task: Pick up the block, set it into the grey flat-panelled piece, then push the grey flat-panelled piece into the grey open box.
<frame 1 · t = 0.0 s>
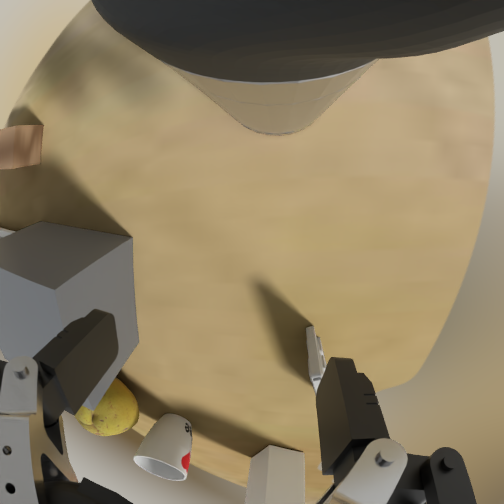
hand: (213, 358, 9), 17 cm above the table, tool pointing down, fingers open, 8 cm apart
fruit: (116, 382, 36), on the table
block: (31, 145, 24), on the table
cassette: (319, 362, 30), on the table
milk carton: (277, 454, 39), on the table
grey open box: (84, 281, 29), on the table
cup: (176, 421, 37), on the table
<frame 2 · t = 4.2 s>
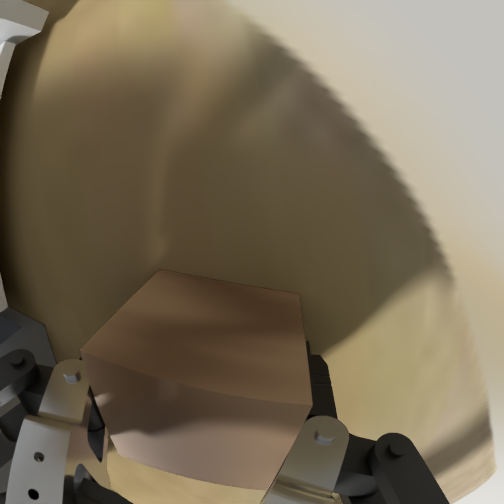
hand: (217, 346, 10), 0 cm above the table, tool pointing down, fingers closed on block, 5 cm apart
block: (220, 339, 10), on the table, touching gripper
grey open box: (16, 373, 14), on the table
when the fingers open (3 cm above the table, at t = 10.4 s): block stays where it is, resting on grey flat-panelled piece.
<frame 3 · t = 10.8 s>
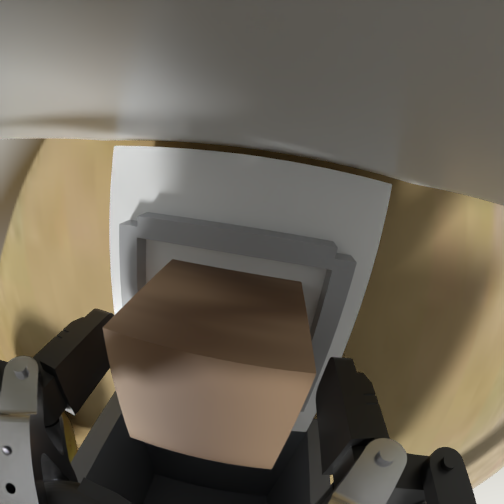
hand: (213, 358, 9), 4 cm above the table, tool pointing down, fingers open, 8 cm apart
fruit: (53, 402, 20), on the table
block: (227, 325, 11), point 2 cm above the table, touching grey flat-panelled piece
grey open box: (214, 456, 18), on the table
grey flat-panelled piece: (198, 387, 7), point 7 cm above the table, slide at 15.0 cm, touching block
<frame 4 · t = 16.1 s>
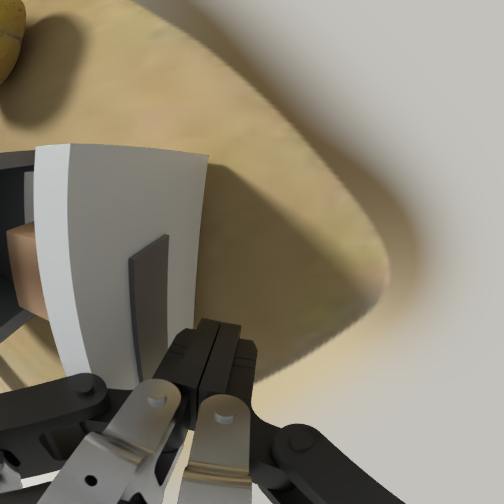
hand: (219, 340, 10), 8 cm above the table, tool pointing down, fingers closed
fruit: (15, 57, 13), on the table
block: (82, 252, 16), point 2 cm above the table, touching grey flat-panelled piece
grey open box: (3, 222, 19), on the table
grey flat-panelled piece: (48, 276, 12), point 6 cm above the table, slide at 13.4 cm, touching block, gripper
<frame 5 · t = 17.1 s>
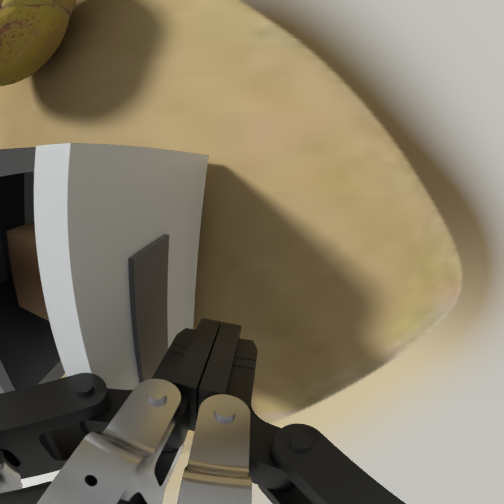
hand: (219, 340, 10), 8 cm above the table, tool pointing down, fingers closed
fruit: (55, 39, 13), on the table
block: (82, 252, 16), point 2 cm above the table, touching grey flat-panelled piece
grey open box: (41, 230, 18), on the table
grey flat-panelled piece: (48, 276, 12), point 7 cm above the table, slide at 6.2 cm, touching block, gripper
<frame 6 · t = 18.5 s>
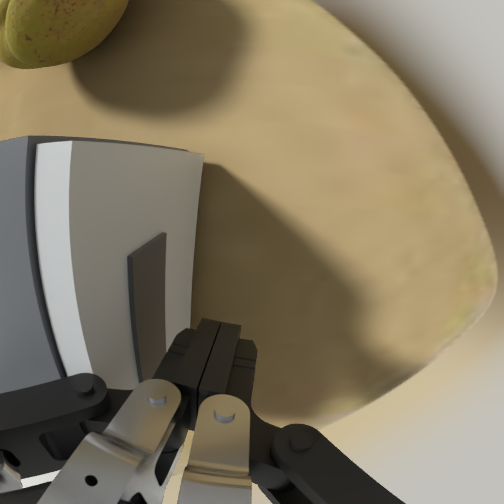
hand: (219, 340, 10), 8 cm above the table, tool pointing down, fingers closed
fruit: (100, 22, 13), on the table
grey open box: (87, 241, 18), on the table
grey flat-panelled piece: (45, 276, 12), point 7 cm above the table, slide at -0.1 cm, touching block, gripper
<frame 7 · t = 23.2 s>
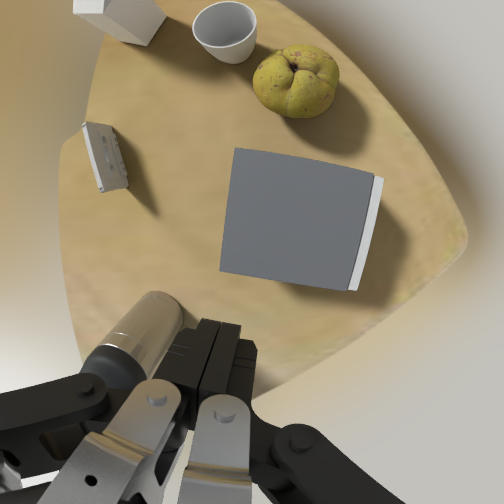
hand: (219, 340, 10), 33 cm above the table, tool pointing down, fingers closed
fruit: (294, 91, 36), on the table
cassette: (118, 155, 41), on the table
milk carton: (143, 28, 33), on the table
grey open box: (290, 206, 41), on the table
cup: (235, 51, 34), on the table
grey flat-panelled piece: (304, 215, 35), point 7 cm above the table, slide at 0.0 cm, touching block
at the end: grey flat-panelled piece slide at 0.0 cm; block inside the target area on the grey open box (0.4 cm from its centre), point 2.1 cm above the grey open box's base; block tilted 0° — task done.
